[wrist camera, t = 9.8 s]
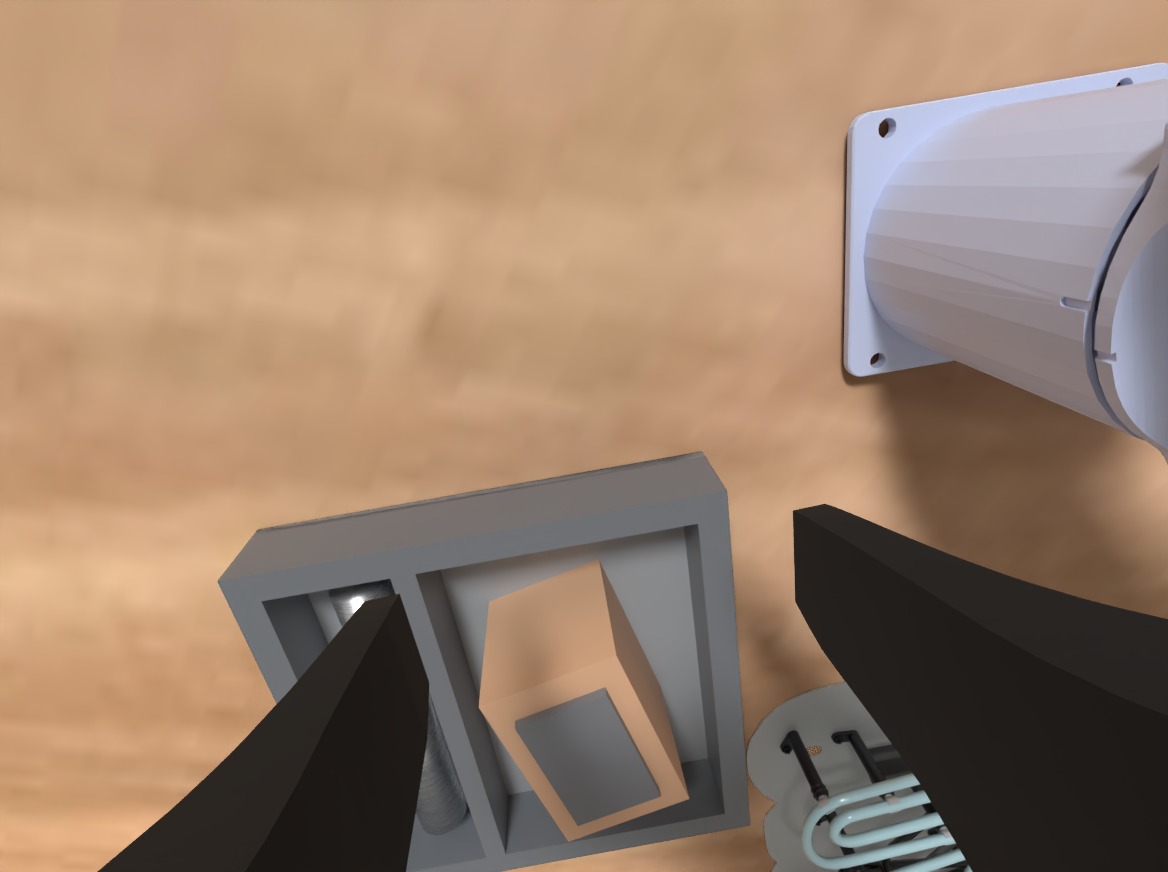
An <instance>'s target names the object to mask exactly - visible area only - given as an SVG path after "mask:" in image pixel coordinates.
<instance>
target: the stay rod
mask: <svg viewBox="0 0 1168 872" xmlns="http://www.w3.org/2000/svg"><path fill="white" fill-rule="evenodd" d="M391 595H395V592H394V589H393V586H392V583H391V580H390V579H385V580H379V581H374V582H368V583H362V584H357V585H351V586H346V587H340V588H334V589H329V596H330V599H331V601H332V604H333V606H334V609H335V611H336V614H337V616H338V619H339V621H340V624H341V626H342V627H343V626H344V625H345V624H346V622H347V621H348V620H349V619H350V618H351V616H352V615H353V614H354V613H355V612H356V610H357V609H358V608H359V607H360V606H361V605H362V604H363V603H364V602H365V601H368V600H372V599H377V598H382V597H387V596H391ZM466 809H467V802H466V798H465V795H464V792H463V789H462V787H461V784H460V781H459V778H458V775H457V772H456V769H455V766H454V763H453V760H452V757H451V755H450V752H449V749H448V746H447V743H446V740H445V737H444V734H443V731H442V728H441V726H440V723H439V720H438V717H437V714H436V711H435V708H434V705H433V702H432V699H431V696H430V694H429V714H428V736H427V744H426V751H425V758H424V764H423V770H422V777H421V783H420V789H419V795H418V801H417V807H416V815H417V817H418V820H419V822H420V825H421V827H422V829H423V830H424V831H425V832H426V833H428V834H431V835H441V834H445V833H447V832H449V831H451V830H452V829H454V828H455V827H456V826H457V825H458V824H459V823H460V822H461V820H462V819H463V817H464V815H465V812H466Z"/></svg>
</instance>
